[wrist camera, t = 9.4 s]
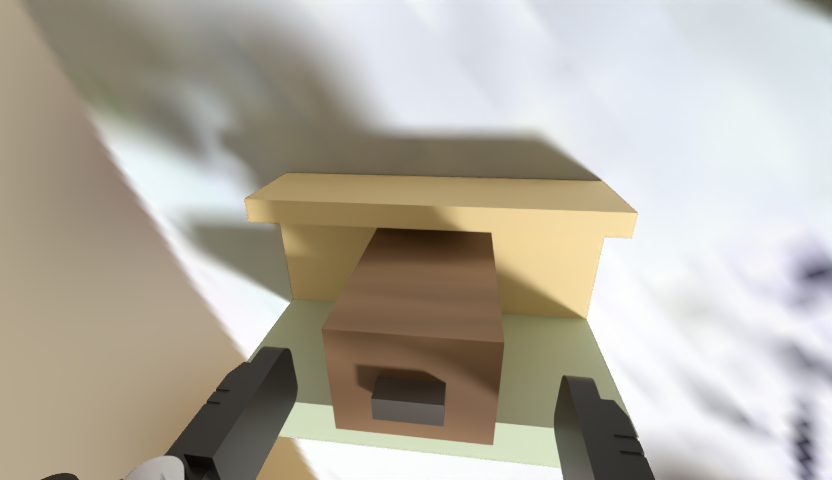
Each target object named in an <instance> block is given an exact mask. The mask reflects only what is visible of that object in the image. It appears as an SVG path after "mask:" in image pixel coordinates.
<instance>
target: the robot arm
mask: <svg viewBox="0 0 832 480" xmlns="http://www.w3.org/2000/svg"><path fill="white" fill-rule="evenodd" d="M297 392H298V383H297V378H296V373H295V368H294V363H293V358H292V353H291V351H290V349H289V348H281V347H270V346H264V347H262V348H261V349H260V350H259V351H258V353H257V354H256V355H255V357H254V358H253V360H252V361H251V362H243V363H242V364H241V365H239V366H238V367H236V368H235V369H234V370H232V371H231V372H230V373H229V374H227V376H226V377H225V378H224V380H223V381H222V382H221V383H220V385H219V386H218V387H217V389H216V392H213V394H212V395H211V396H210V398H209V399H208V400H207V403H206V404H204V405H203V406H202V408H201V409H200V410H199V412H198V413H197V414H196V416H195V417H194V418H193V419H192V421H191V422H190V423H189V424H188V426H187V427H186V429H185V430H184V431H183V432H182V434H181V435H180V436H179V437H178V439H177V440H176V441H175V442H174V444H173V445H172V446H171V448H170V449H169V450H168V452H167V453H166V454H165V455H164V456H160V457H156V458H153V459H150V460H148V461H146V462H144V463H143V464H141V465H139V466H138V467H136V468H135V469H134V470H132V471H131V472H130V473H129V474H128V475H127V476H126V477H125V478H124V479H121V480H255V479H256V477H257V476H258V474H259V472H260V470H261V468H262V466H263V464H264V462H265V460H266V458H267V456H268V454H269V452H270V450H271V449H272V447H273V445H274V443H275V441H276V439H277V437H278V435H279V433H280V431H281V429H282V428H283V426H284V424H285V422H286V420H287V418H288V416H289V414H290V412H291V410H292V408H293V406H294V404H295V401H296V398H297ZM554 434H555V440H556V445H557V450H558V455H559V460H560V464H561V469H562V474H563V479H564V480H655V478H654V476H653V473H652V471H651V468H650V466H649V464H648V461H647V459H646V458H645V457H644V452H643V449H642V447H641V444H640V442H639V441H638V440H637V435H636V432H635V430H634V428H633V425H632V423H631V420H630V418H629V417H628V416H627V414H626V413H625V412H624V411H623V410H622V409H621V408H620V406H619V405H618V404H617V403H616V402H615V401H614V400H607V399H601V398H600V395H599V392H598V389H597V387H596V384H595V381H594V380H593V378H590V377H579V376H568V375H563V376H562V379H561V383H560V388H559V393H558V398H557V402H556V407H555V412H554ZM42 480H79V479H78V478H77V477H76V476H75V475H73V474H70V473H61V474H55V475H52V476H49V477H46V478H44V479H42Z"/></svg>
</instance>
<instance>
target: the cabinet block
mask: <svg viewBox="0 0 832 480" xmlns="http://www.w3.org/2000/svg"><path fill="white" fill-rule="evenodd" d="M322 336H323V343H324V350H325V357H326V364H327V371H328V378H329V385H330V392H331V399H332V406H333V412H334V419H335V426H336V429H345V430H354V431H363V432H372V433H382V434H391V435H400V436H410V437H419V438H428V439H437V440H447V441H456V442H465V443H474V444H484V445H493V442H494V433H495V424H496V415H497V406H498V397H499V388H500V379H501V370H502V361H503V352H504V343H505V342H504V334H503V325H502V317H501V309H500V300H499V292H498V284H497V275H496V267H495V259H494V250H493V242H492V233H491V232H471V231H448V230H425V229H401V228H378V227H377V229H376V231H375V233H374V235H373V236H372V238H371V240H370V242H369V244H368V246H367V247H366V249H365V251H364V253H363V255H362V256H361V258H360V260H359V262H358V264H357V265H356V267H355V269H354V271H353V273H352V274H351V276H350V278H349V280H348V282H347V283H346V285H345V287H344V289H343V291H342V293H341V294H340V296H339V298H338V300H337V302H336V303H335V305H334V307H333V309H332V311H331V312H330V314H329V316H328V318H327V320H326V321H325V323H324V325H323V327H322Z"/></svg>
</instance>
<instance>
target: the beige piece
mask: <svg viewBox="0 0 832 480" xmlns="http://www.w3.org/2000/svg"><path fill="white" fill-rule="evenodd" d="M244 202H245V207H246V211H247V216H248V221H249V222H262V223H280V226H281V232H282V238H283V244H284V249H285V255H286V261H287V267H288V272H289V278H290V284H291V289H292V295H293V300H292V301H291V303H290V304H289V306H288V307H287V308H286V310H285V311H284V312H283V314H282V315H281V316H280V318H279V319H278V320H277V322H276V323H275V324H274V326H273V327H272V329H271V330H270V331H269V333H268V334H267V335H266V337H265V338H264V339H263V341H262V342H261V343H260V345H259V346H258V347H257V349H256V350H255V352H254V353H253V354H252V356H251V357H250V358H249V360H248V361H247V362H251V361H252V360H253V358H254V357H255V355H256V354H257V353H258V351H259V350H260V349H261V348H262V347H264V346H270V347H281V348H289V349H290V351H291V353H292V358H293V363H294V368H295V373H296V378H297V383H298V392H297V398H296V401H295V404H294V406H293V408H292V410H291V412H290V414H289V416H288V418H287V420H286V422H285V424H284V426H283V428H282V429H281V431H280V433H279V435H278V436H283V437H292V438H300V439H309V440H318V441H327V442H336V443H345V444H353V445H362V446H371V447H380V448H389V449H398V450H406V451H415V452H424V453H433V454H442V455H451V456H459V457H468V458H477V459H486V460H495V461H504V462H512V463H521V464H530V465H539V466H548V467H557V468H561V464H560V460H559V455H558V450H557V445H556V440H555V434H554V412H555V407H556V402H557V398H558V393H559V388H560V383H561V379H562V376H563V375H568V376H579V377H590V378H593V380H594V381H595V384H596V387H597V389H598V392H599V395H600V398H601V399H607V400H614V401H615V402H616V403H617V404H618V405H619V406H620V408H621V409H622V410H623V411H624V412H625V413H626V414H627V416H628V417H629V418H630V416H629V414H628V412H627V409H626V407H625V405H624V403H623V400H622V398H621V396H620V394H619V391H618V389H617V387H616V385H615V382H614V380H613V378H612V376H611V373H610V371H609V369H608V367H607V365H606V362H605V360H604V358H603V356H602V353H601V351H600V349H599V347H598V344H597V342H596V340H595V338H594V335H593V333H592V331H591V329H590V326H589V324H588V322H587V320H586V318H587V313H588V309H589V304H590V300H591V295H592V291H593V286H594V282H595V277H596V273H597V268H598V264H599V259H600V255H601V250H602V245H603V241H604V237H611V238H632V235H633V231H634V227H635V223H636V219H637V215H638V212H636V211H635V210H634V209H633V208H632V207H631V206H630V205H629V204H628V203H627V202H626V201H624V200H623V199H622V198H621V197H620V196H619V195H618V194H617V193H616V192H615V191H614V190H613V189H611V188H610V187H609V186H608V185H607V184H606V183H605V182H604V181H585V180H547V179H509V178H471V177H432V176H394V175H356V174H318V173H285V174H284V175H282V176H280V177H279V178H277V179H276V180H274V181H272V182H271V183H269V184H267V185H266V186H264V187H263V188H261V189H259V190H258V191H256V192H255V193H253V194H251V195H250V196H248V197H246V198H245V199H244ZM377 227H378V228H401V229H425V230H448V231H471V232H491V233H492V242H493V250H494V259H495V267H496V275H497V284H498V292H499V300H500V309H501V317H502V325H503V334H504V342H505V343H504V352H503V361H502V370H501V379H500V388H499V397H498V406H497V415H496V424H495V433H494V442H493V445H484V444H474V443H465V442H456V441H447V440H437V439H428V438H419V437H410V436H400V435H391V434H382V433H372V432H363V431H354V430H345V429H336V426H335V419H334V412H333V406H332V399H331V392H330V385H329V378H328V371H327V364H326V357H325V350H324V343H323V336H322V327H323V325H324V323H325V321H326V320H327V318H328V316H329V314H330V312H331V311H332V309H333V307H334V305H335V303H336V302H337V300H338V298H339V296H340V294H341V293H342V291H343V289H344V287H345V285H346V283H347V282H348V280H349V278H350V276H351V274H352V273H353V271H354V269H355V267H356V265H357V264H358V262H359V260H360V258H361V256H362V255H363V253H364V251H365V249H366V247H367V246H368V244H369V242H370V240H371V238H372V236H373V235H374V233H375V231H376V229H377ZM630 420H631V418H630ZM631 423H632V421H631ZM632 425H633V423H632ZM633 428H634V430H635V427H634V425H633ZM635 432H636V430H635ZM636 435H637V440H638V438H639V436H638V434H637V432H636Z"/></svg>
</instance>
